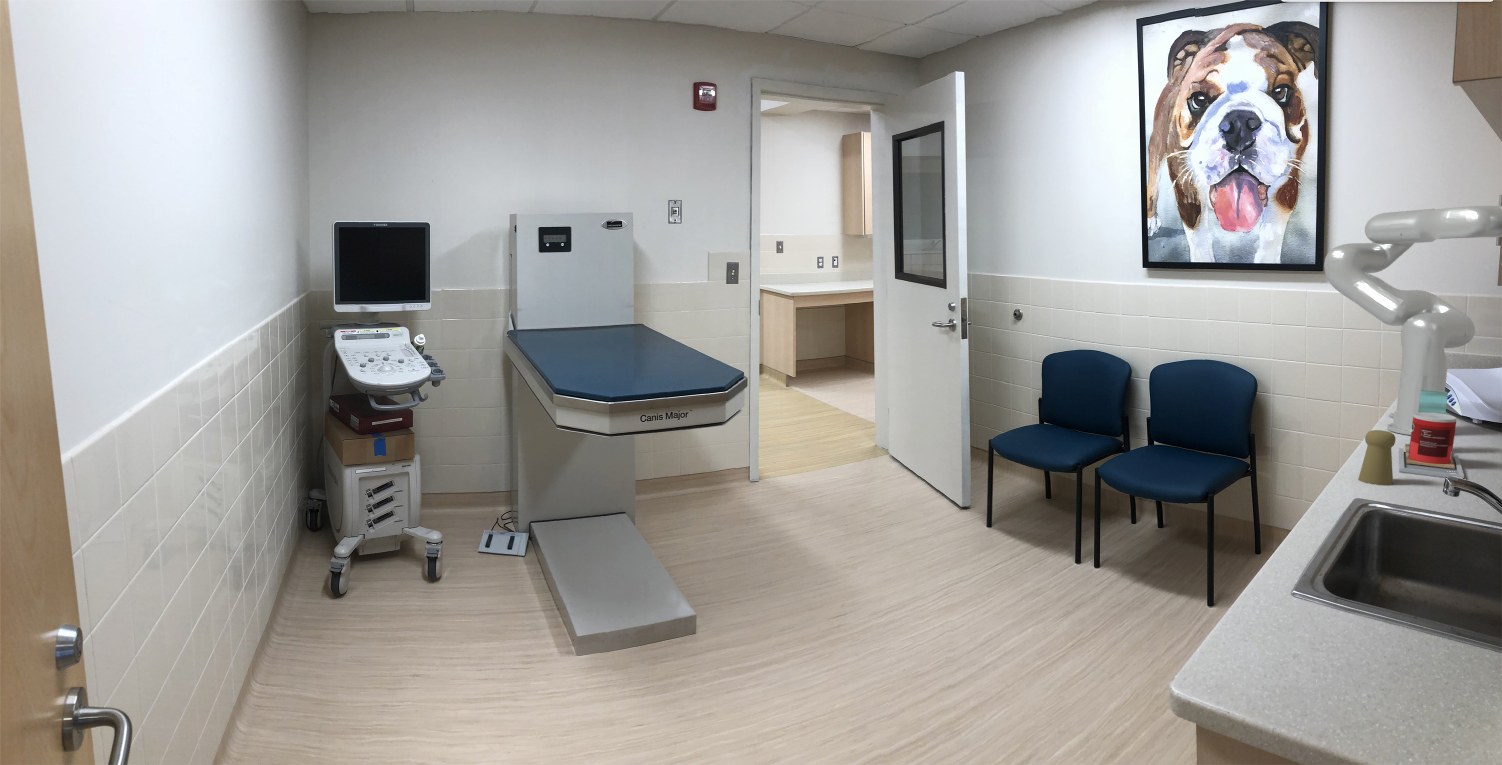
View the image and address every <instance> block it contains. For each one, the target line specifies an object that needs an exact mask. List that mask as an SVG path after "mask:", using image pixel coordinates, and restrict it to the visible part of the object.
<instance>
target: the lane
mask: <svg viewBox="0 0 1502 765" xmlns="http://www.w3.org/2000/svg"><path fill="white" fill-rule="evenodd" d="M1452 459H1453V462H1454V466H1455V467H1454V469H1452V468H1443V467H1431V466H1424V465H1417V464H1408V463H1406V451H1404V448H1398V469H1399V472H1398V473H1403V474H1410V475H1411V474H1412V475H1419V476H1428V477H1437V478H1443V476H1444V478H1445V477H1446V476H1457V477H1462V478H1464V479H1465V474H1464V470H1463V467H1462V465H1461V464H1462V463H1461V461H1460V457H1459V454H1452ZM1447 471H1448V472H1447ZM1449 471H1451V472H1449ZM1452 471H1453V472H1452ZM1454 471H1455V472H1454ZM1450 473H1456V474H1450Z"/></svg>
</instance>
